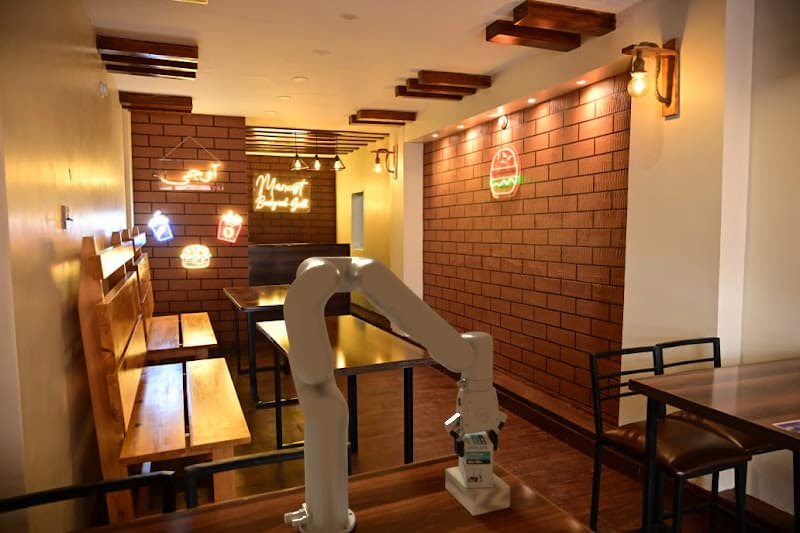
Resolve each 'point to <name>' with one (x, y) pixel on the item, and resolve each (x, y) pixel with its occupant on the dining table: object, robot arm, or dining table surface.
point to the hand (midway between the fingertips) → (476, 451)
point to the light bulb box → (477, 461)
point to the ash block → (477, 493)
